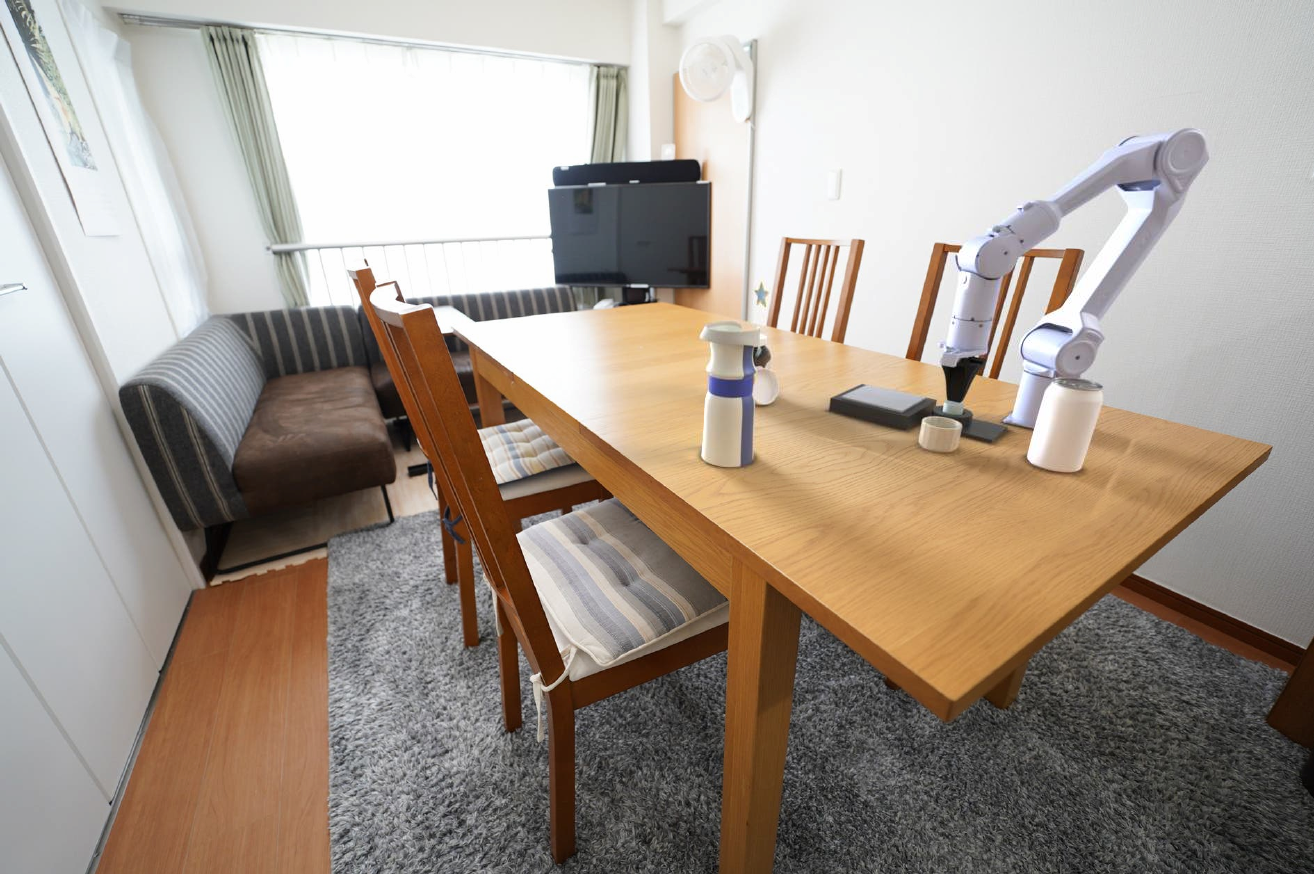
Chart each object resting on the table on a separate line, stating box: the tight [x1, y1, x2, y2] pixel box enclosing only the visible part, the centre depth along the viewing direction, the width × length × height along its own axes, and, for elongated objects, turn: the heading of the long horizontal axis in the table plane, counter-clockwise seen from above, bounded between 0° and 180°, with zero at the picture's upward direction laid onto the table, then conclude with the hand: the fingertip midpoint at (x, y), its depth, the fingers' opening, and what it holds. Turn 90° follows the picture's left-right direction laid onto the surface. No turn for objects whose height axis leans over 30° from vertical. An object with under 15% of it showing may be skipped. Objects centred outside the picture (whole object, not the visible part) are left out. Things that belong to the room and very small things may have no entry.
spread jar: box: [753, 333, 780, 406], centre depth 104 cm, size 12×11×12 cm
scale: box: [828, 383, 938, 432], centre depth 97 cm, size 14×12×3 cm
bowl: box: [917, 416, 962, 454], centre depth 82 cm, size 5×5×4 cm
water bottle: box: [699, 281, 770, 468], centre depth 76 cm, size 8×9×25 cm
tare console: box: [930, 404, 1008, 444], centre depth 90 cm, size 10×8×2 cm
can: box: [1026, 378, 1104, 474], centre depth 75 cm, size 6×6×12 cm
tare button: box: [942, 400, 965, 415], centre depth 90 cm, size 3×3×2 cm
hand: (954, 400), depth 90 cm, fingers closed
